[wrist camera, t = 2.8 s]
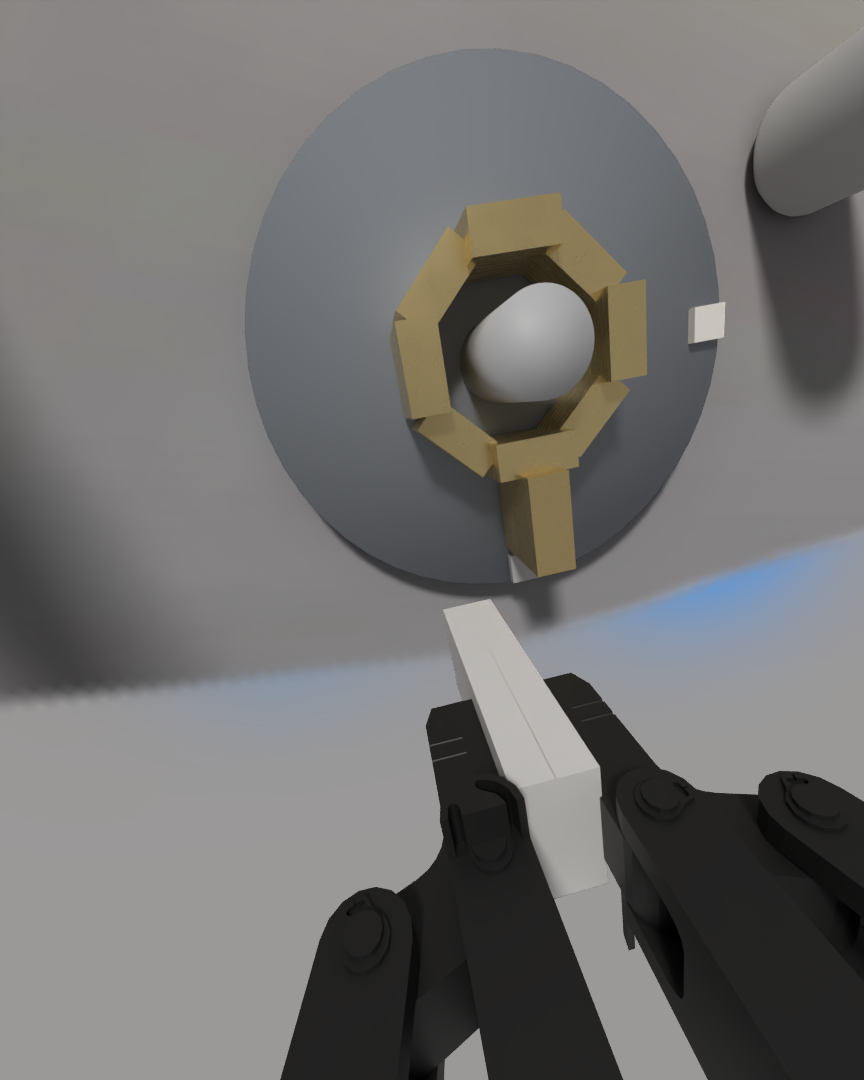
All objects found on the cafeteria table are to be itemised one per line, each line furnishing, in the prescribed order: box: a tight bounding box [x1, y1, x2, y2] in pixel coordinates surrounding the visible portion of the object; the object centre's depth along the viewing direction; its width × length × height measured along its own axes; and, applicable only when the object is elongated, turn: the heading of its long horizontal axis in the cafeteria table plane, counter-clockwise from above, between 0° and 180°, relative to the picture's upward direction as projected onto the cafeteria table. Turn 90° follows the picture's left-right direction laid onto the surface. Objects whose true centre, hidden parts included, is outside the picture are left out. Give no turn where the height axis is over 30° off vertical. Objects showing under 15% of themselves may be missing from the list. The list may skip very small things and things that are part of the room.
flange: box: [245, 49, 725, 584], centre depth 21 cm, size 26×26×8 cm
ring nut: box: [389, 192, 647, 577], centre depth 21 cm, size 16×11×5 cm
